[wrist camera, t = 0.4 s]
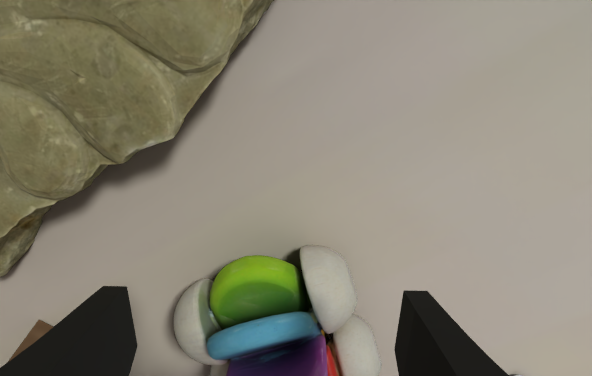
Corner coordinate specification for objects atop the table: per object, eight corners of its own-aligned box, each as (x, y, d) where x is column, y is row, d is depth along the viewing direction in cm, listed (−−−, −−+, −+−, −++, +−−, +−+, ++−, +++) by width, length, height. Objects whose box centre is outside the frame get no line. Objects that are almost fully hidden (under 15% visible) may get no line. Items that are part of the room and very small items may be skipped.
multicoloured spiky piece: (241, 387, 26) (224, 528, 19) (166, 257, 22) (112, 379, 15) (382, 351, 25) (415, 488, 18) (331, 207, 21) (349, 315, 14)
